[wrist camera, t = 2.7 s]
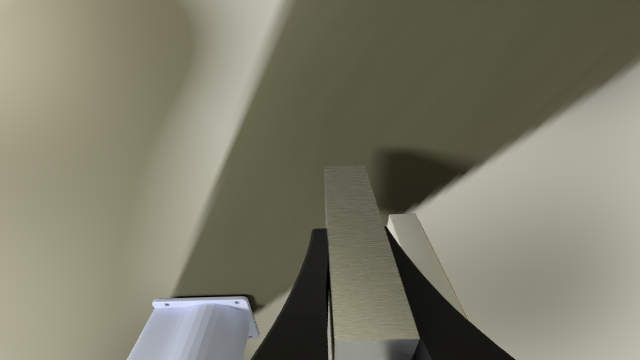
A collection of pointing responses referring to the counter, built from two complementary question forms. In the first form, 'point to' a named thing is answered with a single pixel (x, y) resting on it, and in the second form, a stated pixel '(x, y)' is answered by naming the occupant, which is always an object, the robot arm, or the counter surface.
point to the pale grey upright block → (363, 274)
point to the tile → (422, 254)
